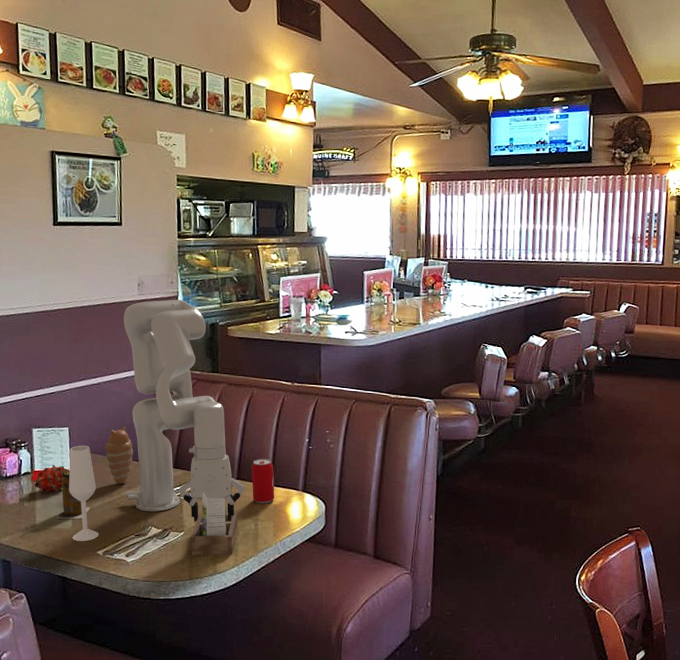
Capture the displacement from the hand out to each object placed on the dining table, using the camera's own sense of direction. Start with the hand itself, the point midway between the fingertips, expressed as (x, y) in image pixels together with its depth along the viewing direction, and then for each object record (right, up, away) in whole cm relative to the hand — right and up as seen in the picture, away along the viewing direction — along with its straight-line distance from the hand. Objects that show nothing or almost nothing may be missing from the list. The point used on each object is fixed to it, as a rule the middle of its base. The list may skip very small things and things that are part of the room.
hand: (213, 518), depth 200 cm
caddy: (0, -7, +4) cm, 8 cm away
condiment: (-44, -5, +26) cm, 51 cm away
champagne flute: (-35, -7, +9) cm, 37 cm away
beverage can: (+10, -3, +33) cm, 35 cm away
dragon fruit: (-57, -2, +45) cm, 73 cm away
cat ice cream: (-37, -1, +51) cm, 63 cm away
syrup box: (0, -6, +1) cm, 7 cm away
